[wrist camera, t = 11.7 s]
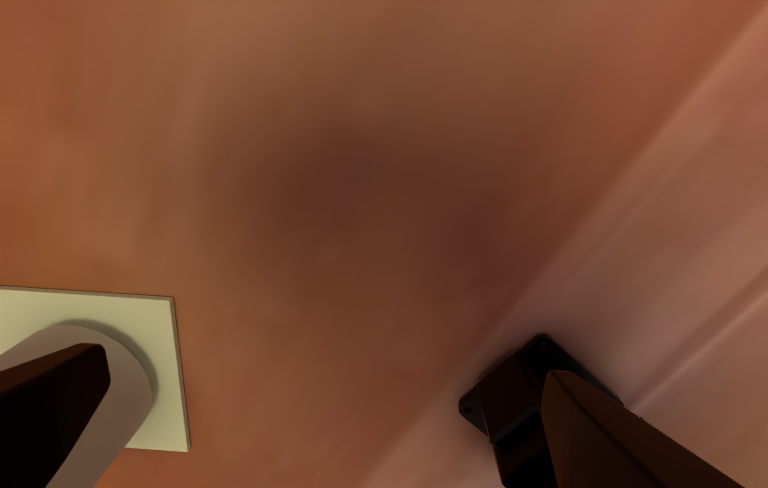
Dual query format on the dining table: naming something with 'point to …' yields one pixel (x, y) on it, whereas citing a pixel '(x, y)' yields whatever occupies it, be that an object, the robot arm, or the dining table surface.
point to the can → (113, 415)
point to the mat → (126, 325)
